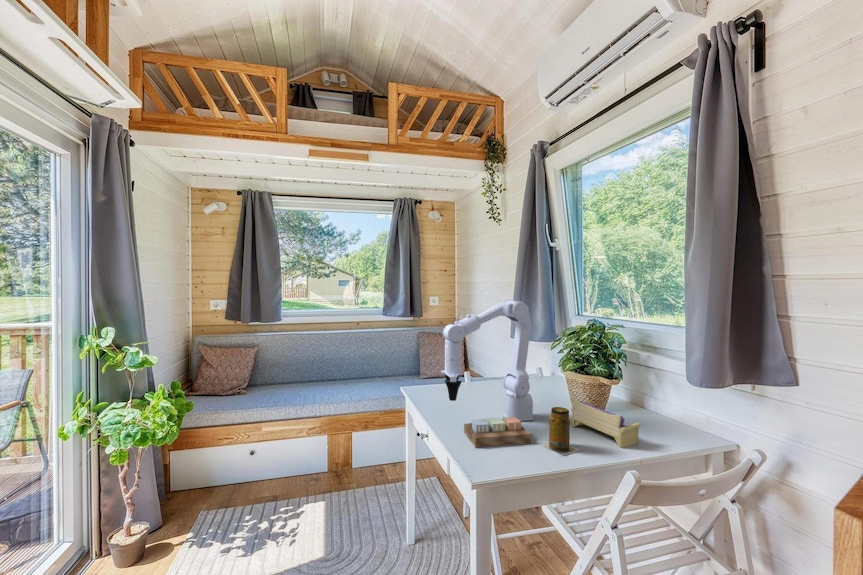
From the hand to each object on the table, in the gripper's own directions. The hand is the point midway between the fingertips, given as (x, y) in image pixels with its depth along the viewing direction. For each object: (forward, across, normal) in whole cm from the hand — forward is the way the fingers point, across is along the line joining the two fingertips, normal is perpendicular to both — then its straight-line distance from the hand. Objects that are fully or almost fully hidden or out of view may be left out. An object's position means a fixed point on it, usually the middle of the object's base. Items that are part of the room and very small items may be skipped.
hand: (452, 396), depth 141 cm
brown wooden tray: (+10, +10, +14) cm, 20 cm away
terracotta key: (+8, +9, +20) cm, 23 cm away
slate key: (+8, +12, +9) cm, 17 cm away
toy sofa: (+11, +6, +51) cm, 52 cm away
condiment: (+10, +17, +33) cm, 39 cm away
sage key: (+8, +10, +14) cm, 19 cm away
